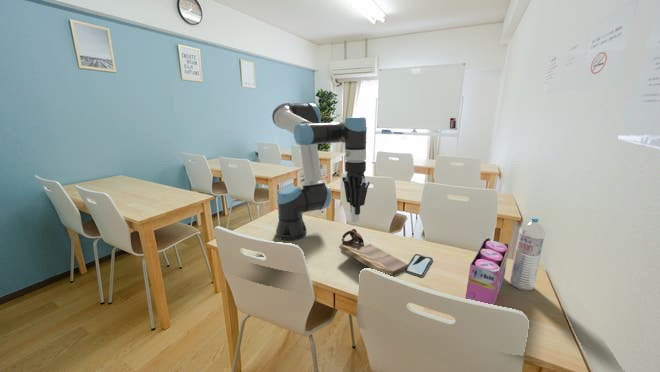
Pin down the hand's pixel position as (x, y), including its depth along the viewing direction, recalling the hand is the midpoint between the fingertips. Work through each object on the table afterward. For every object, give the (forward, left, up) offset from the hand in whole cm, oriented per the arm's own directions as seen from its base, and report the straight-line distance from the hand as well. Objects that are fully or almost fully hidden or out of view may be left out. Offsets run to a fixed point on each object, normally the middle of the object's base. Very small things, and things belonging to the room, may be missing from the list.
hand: (355, 221), depth 103 cm
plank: (+4, +1, -16) cm, 16 cm away
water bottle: (+45, +38, -19) cm, 62 cm away
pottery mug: (-12, +10, -19) cm, 24 cm away
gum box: (+39, +26, -19) cm, 50 cm away
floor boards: (+4, +11, -18) cm, 21 cm away
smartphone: (+16, +20, -19) cm, 31 cm away
